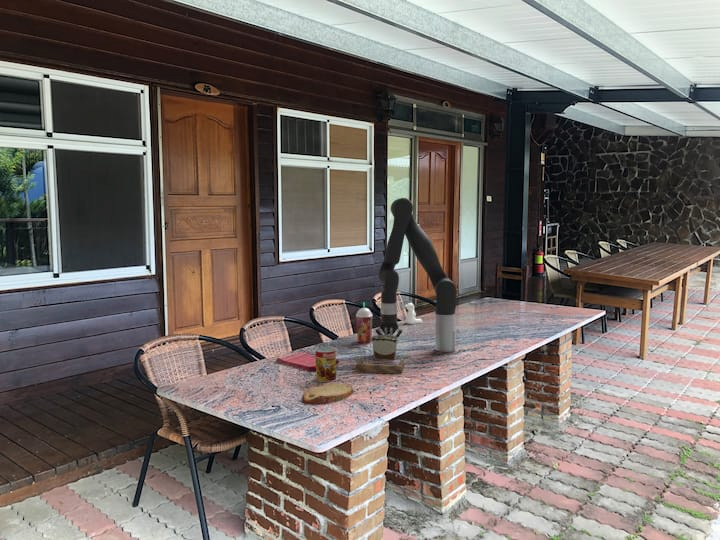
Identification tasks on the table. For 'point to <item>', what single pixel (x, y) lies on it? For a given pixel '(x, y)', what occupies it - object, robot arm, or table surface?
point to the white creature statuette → (411, 315)
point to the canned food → (325, 364)
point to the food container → (384, 347)
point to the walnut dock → (379, 367)
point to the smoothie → (364, 324)
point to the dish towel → (300, 361)
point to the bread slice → (327, 393)
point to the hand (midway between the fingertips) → (389, 349)
